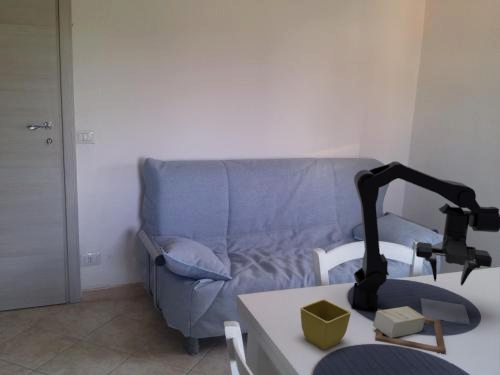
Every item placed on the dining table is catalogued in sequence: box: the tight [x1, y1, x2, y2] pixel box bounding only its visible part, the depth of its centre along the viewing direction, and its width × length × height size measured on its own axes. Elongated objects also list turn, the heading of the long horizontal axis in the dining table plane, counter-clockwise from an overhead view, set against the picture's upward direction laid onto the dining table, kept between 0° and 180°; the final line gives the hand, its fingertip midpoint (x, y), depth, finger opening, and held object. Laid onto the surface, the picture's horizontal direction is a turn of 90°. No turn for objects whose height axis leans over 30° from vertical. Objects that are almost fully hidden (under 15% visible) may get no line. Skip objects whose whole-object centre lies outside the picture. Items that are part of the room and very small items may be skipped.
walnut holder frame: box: [374, 308, 447, 355], centre depth 114 cm, size 16×16×2 cm
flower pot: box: [300, 299, 352, 350], centre depth 107 cm, size 9×9×9 cm
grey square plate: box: [420, 297, 470, 323], centre depth 126 cm, size 12×12×1 cm
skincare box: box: [372, 305, 425, 338], centre depth 114 cm, size 6×4×12 cm
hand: (448, 282), depth 124 cm, fingers open, 6 cm apart
